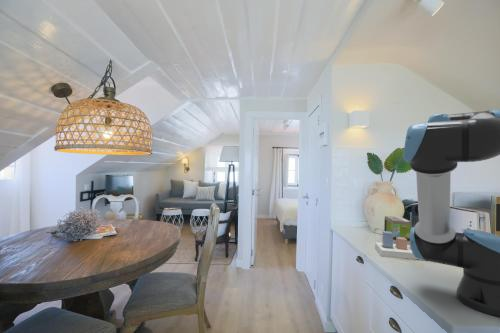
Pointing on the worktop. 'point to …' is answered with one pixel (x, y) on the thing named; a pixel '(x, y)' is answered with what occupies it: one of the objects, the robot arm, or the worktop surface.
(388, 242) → the slate block
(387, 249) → the board
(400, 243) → the terracotta block
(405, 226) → the tea box
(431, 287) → the worktop surface
